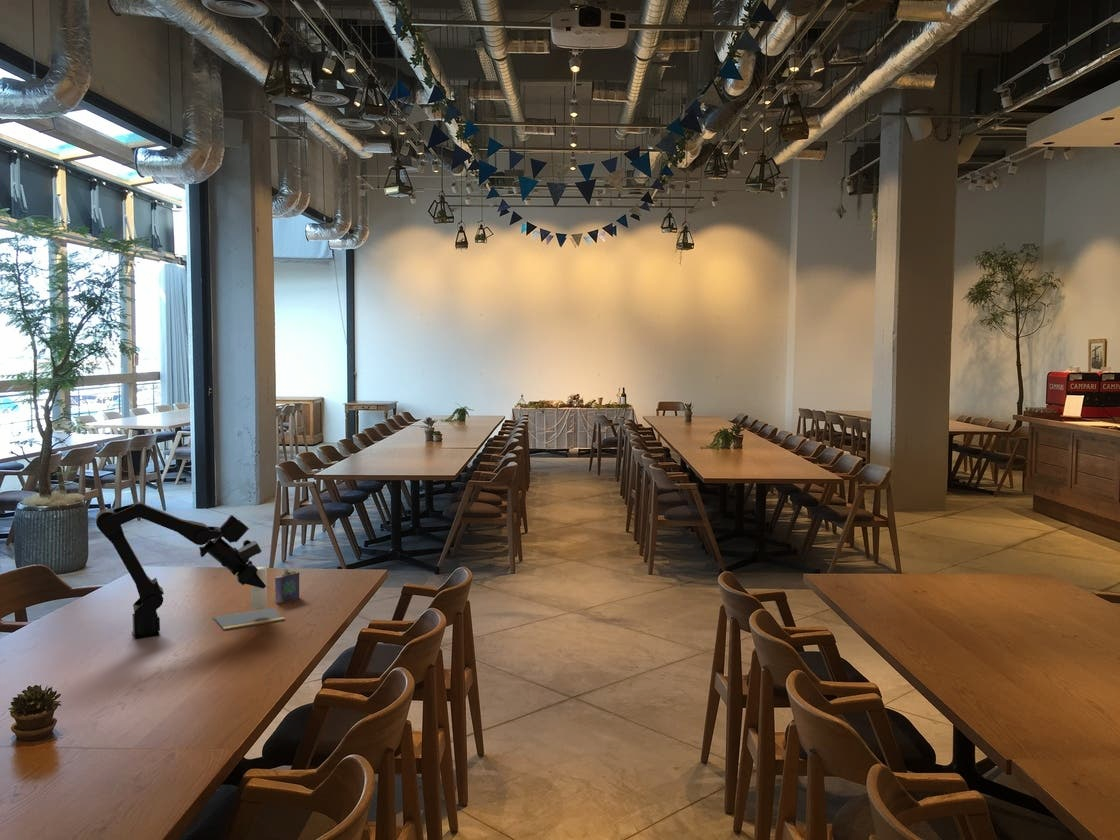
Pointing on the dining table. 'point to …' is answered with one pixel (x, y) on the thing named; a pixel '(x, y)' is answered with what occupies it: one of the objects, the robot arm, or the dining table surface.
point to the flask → (287, 587)
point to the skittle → (259, 591)
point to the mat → (248, 618)
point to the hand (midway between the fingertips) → (263, 585)
